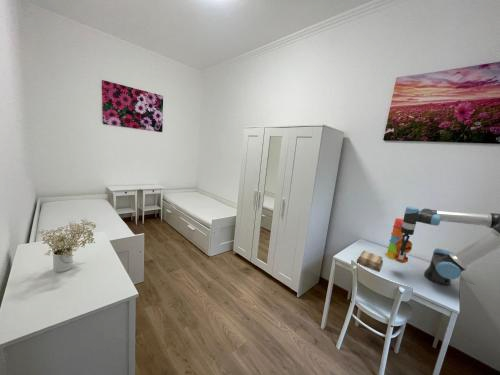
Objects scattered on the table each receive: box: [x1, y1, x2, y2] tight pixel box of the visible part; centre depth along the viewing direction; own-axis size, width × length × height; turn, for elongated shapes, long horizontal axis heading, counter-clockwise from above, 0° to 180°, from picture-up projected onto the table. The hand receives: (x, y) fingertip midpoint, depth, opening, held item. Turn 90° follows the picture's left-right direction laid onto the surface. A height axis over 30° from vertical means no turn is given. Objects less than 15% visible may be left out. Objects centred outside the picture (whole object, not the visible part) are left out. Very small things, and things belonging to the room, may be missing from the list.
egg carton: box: [356, 250, 384, 273], centre depth 172 cm, size 16×16×6 cm
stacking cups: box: [385, 217, 404, 260], centre depth 184 cm, size 10×10×35 cm
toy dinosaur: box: [393, 238, 413, 264], centre depth 158 cm, size 11×11×18 cm
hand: (401, 256), depth 159 cm, fingers closed on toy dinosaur, 10 cm apart
